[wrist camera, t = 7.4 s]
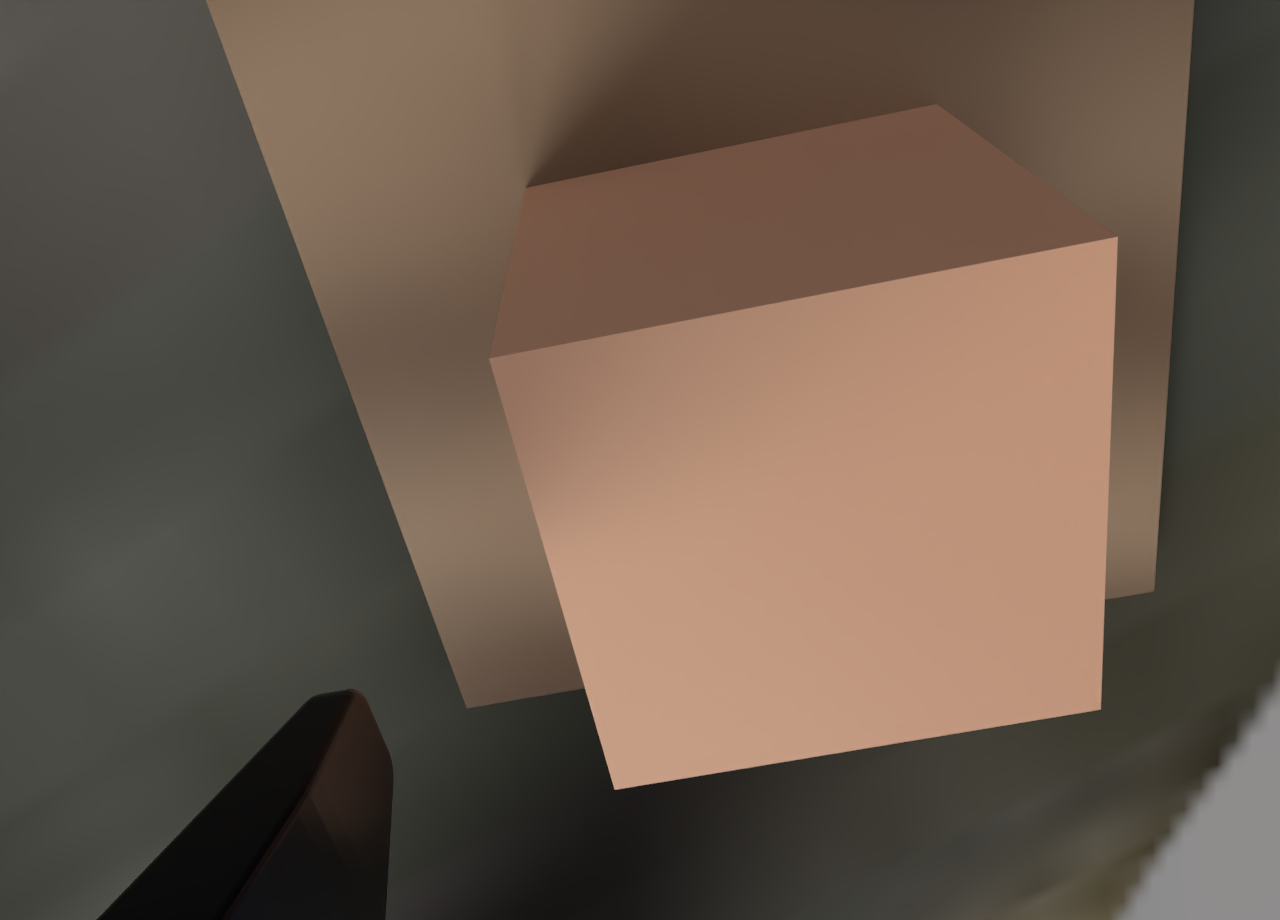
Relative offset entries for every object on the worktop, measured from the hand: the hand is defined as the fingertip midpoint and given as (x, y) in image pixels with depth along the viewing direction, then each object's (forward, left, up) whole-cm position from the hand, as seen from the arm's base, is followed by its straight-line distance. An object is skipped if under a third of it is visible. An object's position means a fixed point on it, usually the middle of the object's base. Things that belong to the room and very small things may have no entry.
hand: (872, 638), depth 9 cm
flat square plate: (0, 0, -8) cm, 8 cm away
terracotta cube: (0, 0, -7) cm, 7 cm away
